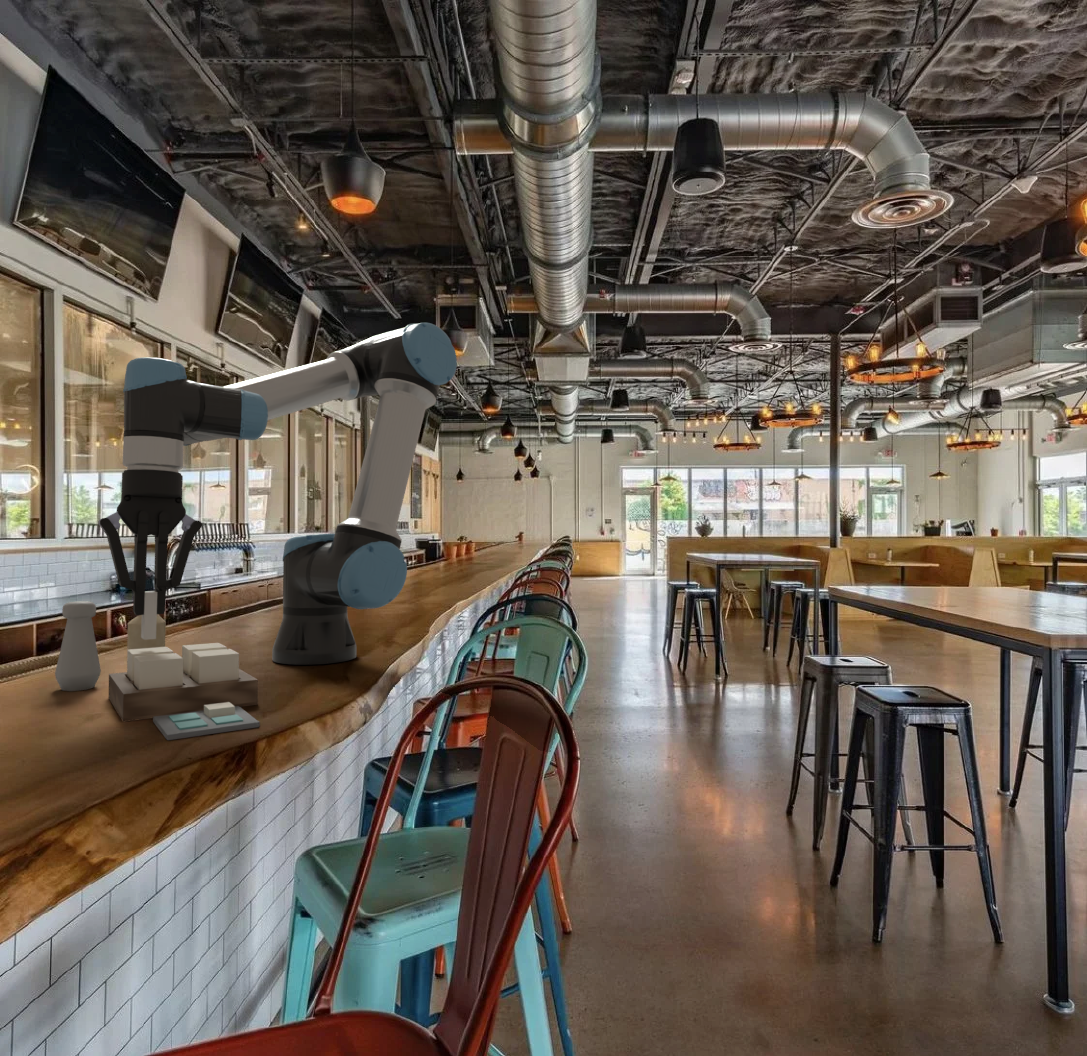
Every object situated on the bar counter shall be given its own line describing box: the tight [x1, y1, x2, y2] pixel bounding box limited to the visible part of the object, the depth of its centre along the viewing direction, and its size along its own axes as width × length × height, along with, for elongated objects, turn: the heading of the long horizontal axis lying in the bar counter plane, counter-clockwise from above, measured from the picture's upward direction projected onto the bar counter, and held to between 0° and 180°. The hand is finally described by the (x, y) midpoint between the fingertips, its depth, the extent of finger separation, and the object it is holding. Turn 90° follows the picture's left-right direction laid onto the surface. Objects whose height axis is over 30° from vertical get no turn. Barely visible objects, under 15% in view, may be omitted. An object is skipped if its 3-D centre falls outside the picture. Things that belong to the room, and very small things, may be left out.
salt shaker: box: [54, 600, 102, 692], centre depth 108 cm, size 6×6×13 cm
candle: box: [126, 614, 167, 650], centre depth 119 cm, size 6×6×10 cm
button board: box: [108, 668, 259, 723], centre depth 100 cm, size 16×16×3 cm
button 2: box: [134, 652, 183, 690], centre depth 95 cm, size 5×5×4 cm
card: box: [152, 702, 260, 741], centre depth 88 cm, size 10×10×2 cm
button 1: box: [126, 646, 174, 681], centre depth 100 cm, size 5×5×4 cm
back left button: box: [181, 642, 228, 675], centre depth 105 cm, size 5×5×4 cm
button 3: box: [192, 648, 240, 684], centre depth 99 cm, size 5×5×4 cm
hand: (148, 638), depth 100 cm, fingers closed
